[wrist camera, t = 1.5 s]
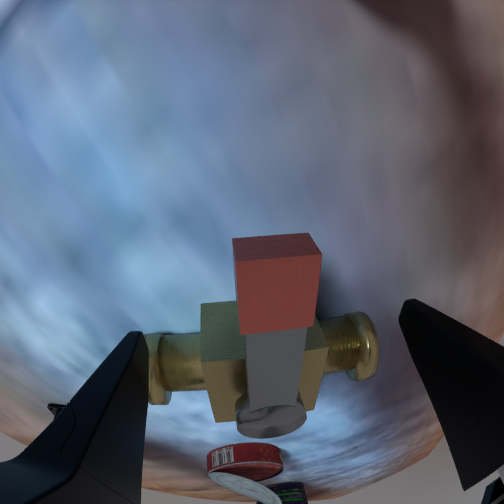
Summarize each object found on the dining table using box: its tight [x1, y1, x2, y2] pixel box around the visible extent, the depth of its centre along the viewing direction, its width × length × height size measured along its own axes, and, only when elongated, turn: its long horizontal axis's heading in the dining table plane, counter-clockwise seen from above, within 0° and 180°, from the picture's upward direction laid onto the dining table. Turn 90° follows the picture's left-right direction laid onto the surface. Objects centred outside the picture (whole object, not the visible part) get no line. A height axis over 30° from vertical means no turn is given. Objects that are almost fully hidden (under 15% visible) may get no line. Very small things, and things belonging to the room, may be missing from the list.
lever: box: [232, 233, 322, 439], centre depth 13 cm, size 13×4×2 cm, turn 1°
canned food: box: [207, 442, 284, 504], centre depth 31 cm, size 11×10×10 cm
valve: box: [144, 301, 379, 423], centre depth 19 cm, size 7×15×6 cm, turn 91°
